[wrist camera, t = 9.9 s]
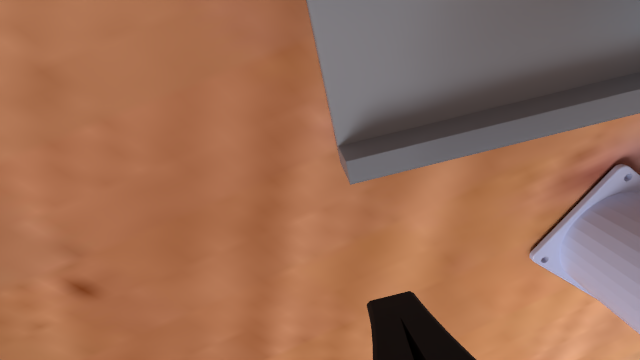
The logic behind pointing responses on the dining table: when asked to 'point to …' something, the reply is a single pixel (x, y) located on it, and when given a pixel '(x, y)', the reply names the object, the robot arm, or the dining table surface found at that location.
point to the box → (469, 74)
